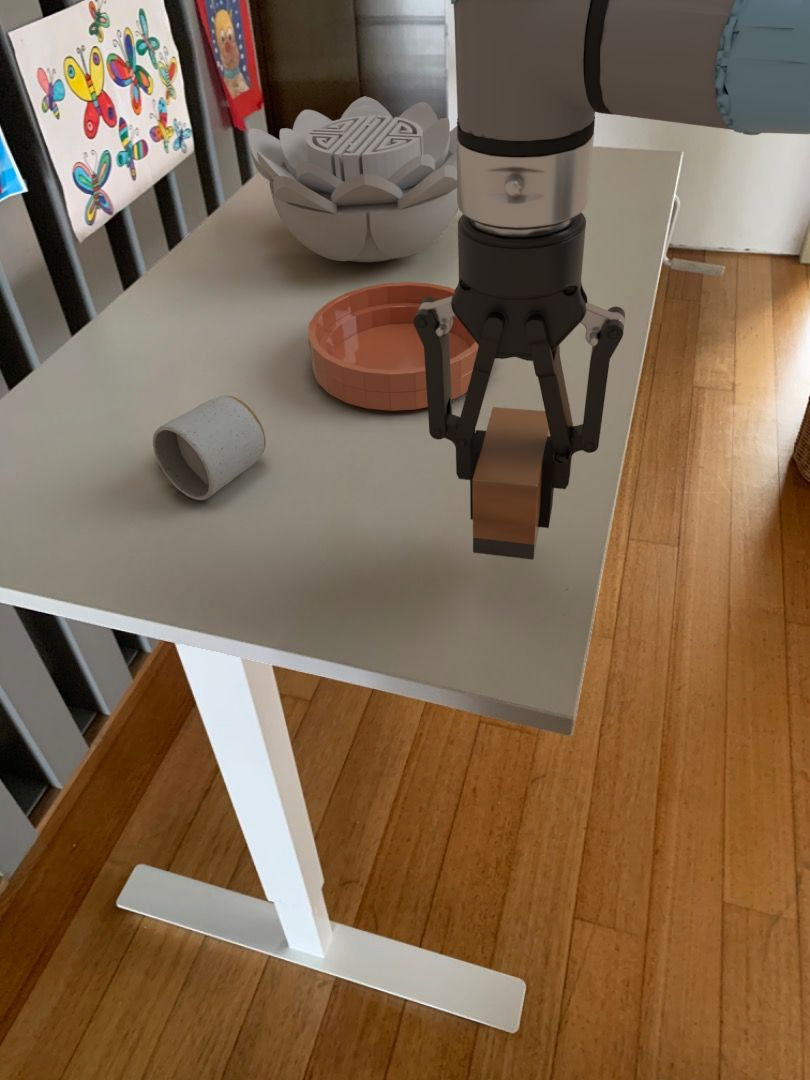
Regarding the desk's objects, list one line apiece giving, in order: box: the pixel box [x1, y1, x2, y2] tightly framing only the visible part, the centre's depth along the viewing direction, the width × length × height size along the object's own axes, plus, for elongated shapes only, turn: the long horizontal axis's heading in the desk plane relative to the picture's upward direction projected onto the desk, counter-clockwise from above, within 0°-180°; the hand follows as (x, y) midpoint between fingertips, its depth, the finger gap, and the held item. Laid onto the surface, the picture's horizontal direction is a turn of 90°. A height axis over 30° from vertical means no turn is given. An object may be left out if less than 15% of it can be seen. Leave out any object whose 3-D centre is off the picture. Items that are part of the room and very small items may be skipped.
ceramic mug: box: [152, 395, 267, 501], centre depth 79 cm, size 11×8×8 cm
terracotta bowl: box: [307, 281, 479, 412], centre depth 92 cm, size 20×20×5 cm
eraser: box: [472, 406, 550, 560], centre depth 63 cm, size 9×4×7 cm, turn 167°
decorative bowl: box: [248, 95, 459, 263], centre depth 112 cm, size 30×30×15 cm
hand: (511, 511), depth 65 cm, fingers closed on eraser, 4 cm apart
